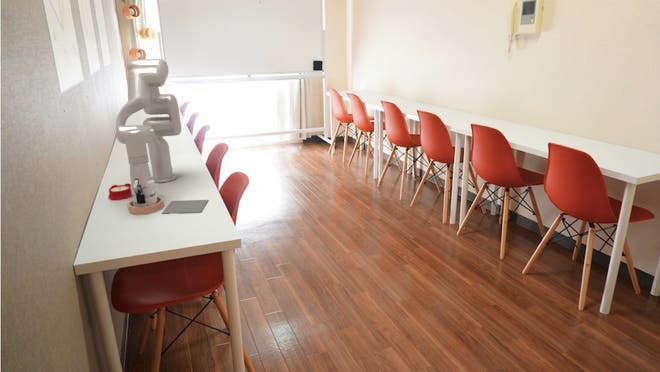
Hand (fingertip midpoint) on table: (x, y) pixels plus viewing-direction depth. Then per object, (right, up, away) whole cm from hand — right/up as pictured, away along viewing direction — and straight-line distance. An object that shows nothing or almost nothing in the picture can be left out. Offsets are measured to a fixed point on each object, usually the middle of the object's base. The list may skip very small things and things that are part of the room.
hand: (145, 199), depth 184 cm
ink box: (0, -4, +1) cm, 4 cm away
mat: (+17, -3, +2) cm, 17 cm away
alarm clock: (-18, +1, +18) cm, 26 cm away
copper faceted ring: (0, -4, +1) cm, 4 cm away
